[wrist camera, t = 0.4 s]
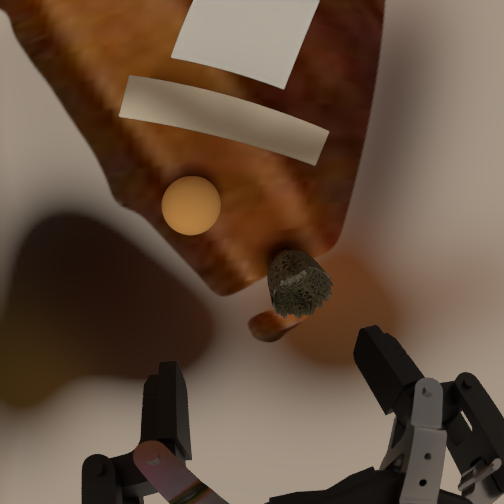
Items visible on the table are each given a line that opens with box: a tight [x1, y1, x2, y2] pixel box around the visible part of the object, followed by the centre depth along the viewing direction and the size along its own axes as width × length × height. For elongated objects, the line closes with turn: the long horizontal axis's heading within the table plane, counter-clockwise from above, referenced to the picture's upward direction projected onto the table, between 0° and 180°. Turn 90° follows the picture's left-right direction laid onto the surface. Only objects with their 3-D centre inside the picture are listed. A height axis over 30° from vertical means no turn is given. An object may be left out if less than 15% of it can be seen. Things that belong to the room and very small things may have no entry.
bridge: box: [119, 75, 329, 165], centre depth 22 cm, size 3×15×10 cm, turn 71°
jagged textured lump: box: [267, 248, 333, 318], centre depth 35 cm, size 8×7×8 cm
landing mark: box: [171, 0, 319, 89], centre depth 21 cm, size 12×12×1 cm
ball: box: [162, 176, 221, 235], centre depth 28 cm, size 6×6×6 cm
